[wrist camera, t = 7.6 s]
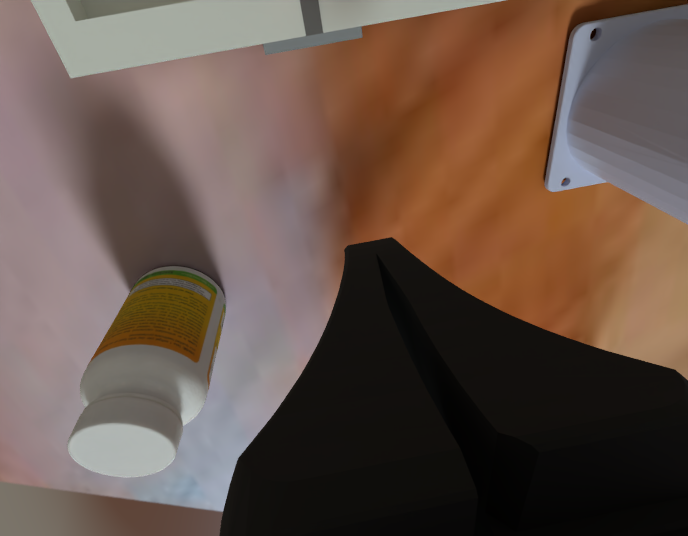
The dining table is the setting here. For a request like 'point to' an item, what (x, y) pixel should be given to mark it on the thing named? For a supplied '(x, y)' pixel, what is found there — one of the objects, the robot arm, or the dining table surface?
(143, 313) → the supplement bottle
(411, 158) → the dining table surface
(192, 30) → the beam
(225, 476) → the dining table surface
